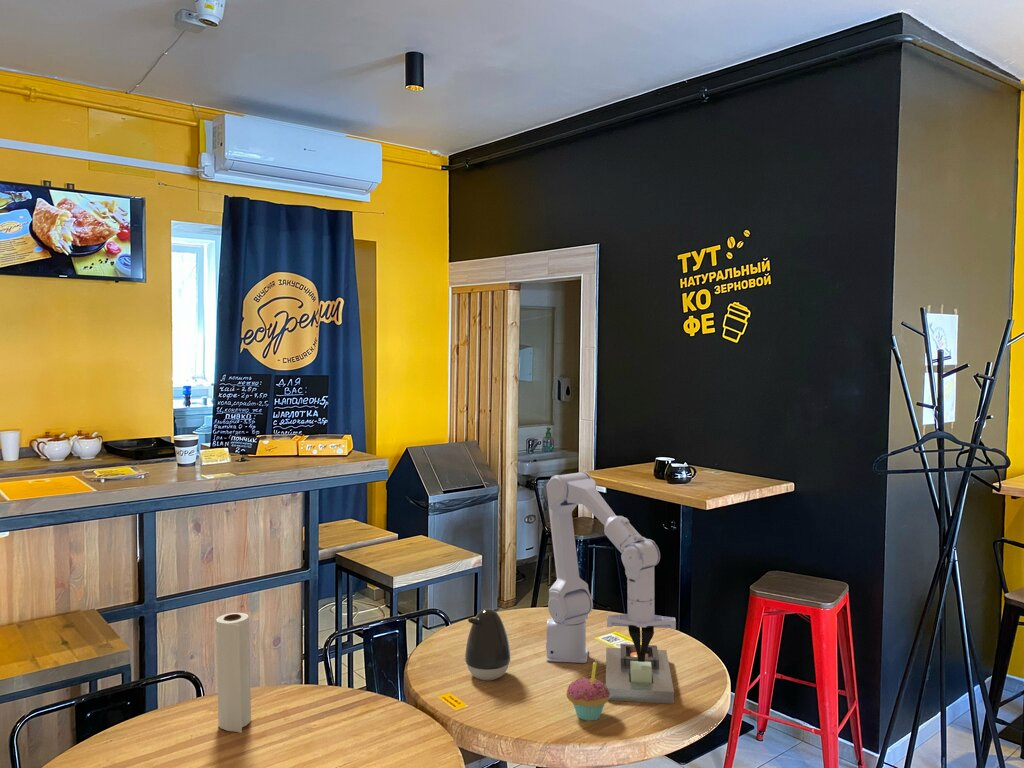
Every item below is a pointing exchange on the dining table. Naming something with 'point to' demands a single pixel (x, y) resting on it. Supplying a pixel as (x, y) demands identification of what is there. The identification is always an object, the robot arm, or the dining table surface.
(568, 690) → the cupcake
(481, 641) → the dark grey egg-shaped figure
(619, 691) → the control box
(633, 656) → the button
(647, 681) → the pale green block
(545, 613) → the dining table surface
